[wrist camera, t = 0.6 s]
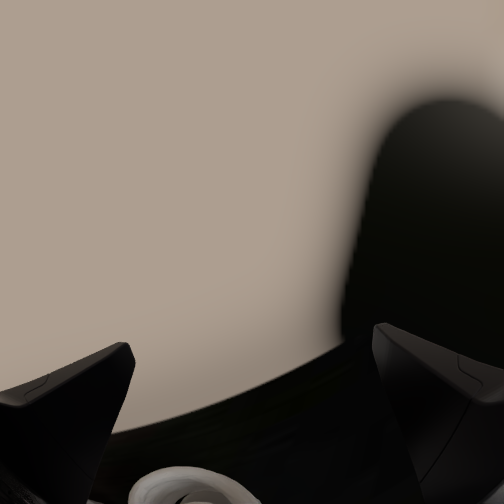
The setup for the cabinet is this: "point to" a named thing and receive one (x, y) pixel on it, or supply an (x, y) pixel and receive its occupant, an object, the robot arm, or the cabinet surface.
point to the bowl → (92, 502)
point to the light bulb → (188, 488)
